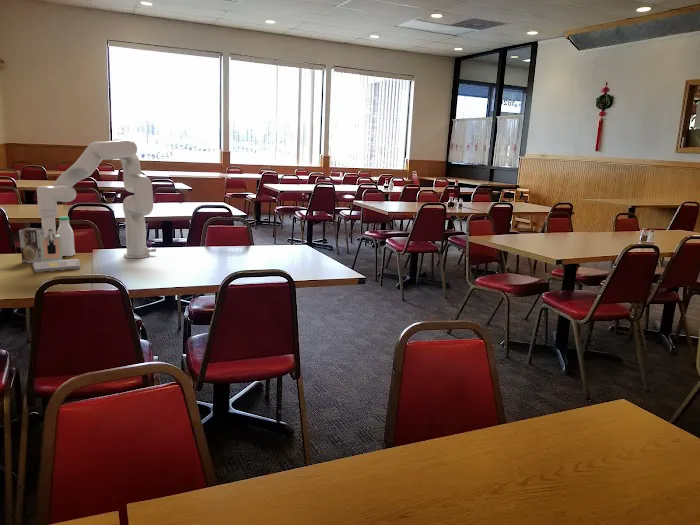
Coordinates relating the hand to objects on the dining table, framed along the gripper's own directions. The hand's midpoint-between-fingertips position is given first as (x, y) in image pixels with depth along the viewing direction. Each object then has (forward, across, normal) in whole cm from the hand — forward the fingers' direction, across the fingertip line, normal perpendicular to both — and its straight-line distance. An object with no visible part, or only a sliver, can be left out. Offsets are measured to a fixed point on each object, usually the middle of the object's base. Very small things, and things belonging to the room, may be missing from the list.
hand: (51, 252), depth 250 cm
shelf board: (+7, 0, +2) cm, 7 cm away
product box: (+4, 0, 0) cm, 4 cm away
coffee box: (+8, -17, -6) cm, 20 cm away
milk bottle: (+8, -28, +9) cm, 30 cm away
